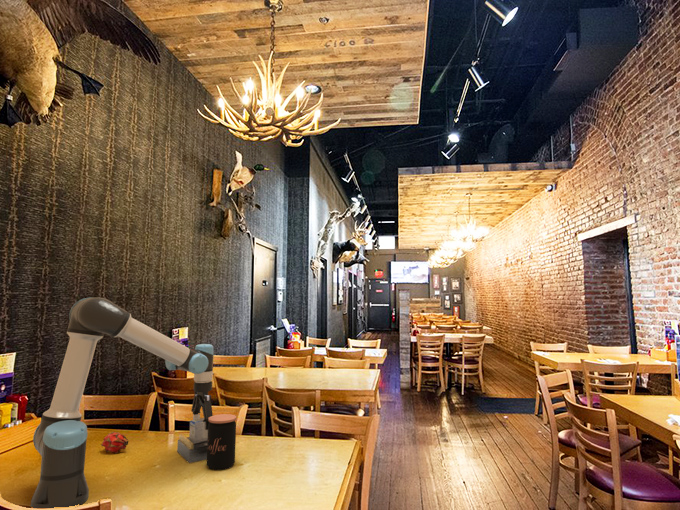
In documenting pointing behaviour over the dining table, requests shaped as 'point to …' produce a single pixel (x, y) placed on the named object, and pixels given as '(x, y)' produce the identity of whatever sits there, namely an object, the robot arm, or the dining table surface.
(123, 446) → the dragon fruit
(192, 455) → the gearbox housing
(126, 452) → the dining table surface
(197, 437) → the medicine box
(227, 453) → the coffee jar
